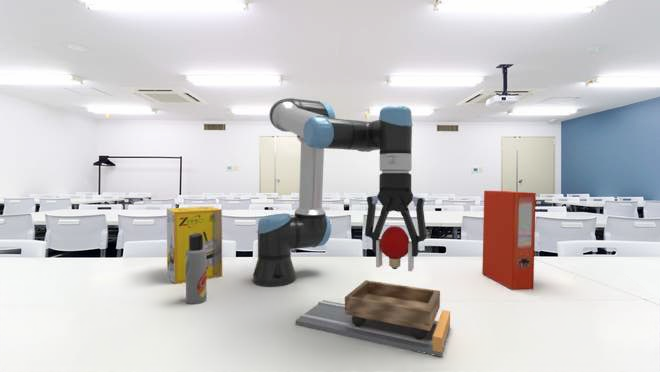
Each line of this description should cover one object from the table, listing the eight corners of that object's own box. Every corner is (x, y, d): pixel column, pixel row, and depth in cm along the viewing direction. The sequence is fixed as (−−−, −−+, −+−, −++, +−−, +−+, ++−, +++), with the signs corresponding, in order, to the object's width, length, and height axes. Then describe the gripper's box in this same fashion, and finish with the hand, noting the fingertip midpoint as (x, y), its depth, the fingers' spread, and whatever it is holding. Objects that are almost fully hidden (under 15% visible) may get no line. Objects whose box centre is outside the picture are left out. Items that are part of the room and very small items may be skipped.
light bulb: (410, 275, 75) (410, 231, 75) (379, 273, 76) (379, 230, 76) (408, 264, 84) (409, 225, 84) (380, 263, 85) (381, 224, 85)
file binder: (502, 274, 127) (503, 190, 126) (534, 289, 110) (535, 192, 109) (482, 274, 126) (483, 190, 126) (511, 289, 109) (512, 192, 108)
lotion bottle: (210, 298, 101) (210, 233, 100) (197, 305, 95) (196, 236, 95) (195, 296, 103) (194, 232, 102) (181, 303, 97) (181, 234, 97)
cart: (344, 326, 78) (344, 297, 78) (365, 305, 91) (365, 280, 91) (430, 345, 69) (430, 311, 69) (439, 318, 82) (439, 290, 82)
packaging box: (222, 276, 124) (221, 209, 123) (174, 284, 115) (174, 211, 114) (210, 266, 137) (210, 206, 137) (167, 273, 128) (166, 208, 127)
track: (295, 324, 83) (295, 308, 83) (323, 303, 97) (323, 290, 97) (441, 357, 68) (441, 337, 68) (450, 327, 82) (450, 311, 82)
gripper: (350, 172, 80) (350, 266, 81) (436, 171, 72) (435, 277, 72) (361, 172, 87) (361, 259, 88) (441, 172, 79) (440, 268, 79)
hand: (394, 267), depth 80 cm, fingers closed on light bulb, 7 cm apart
